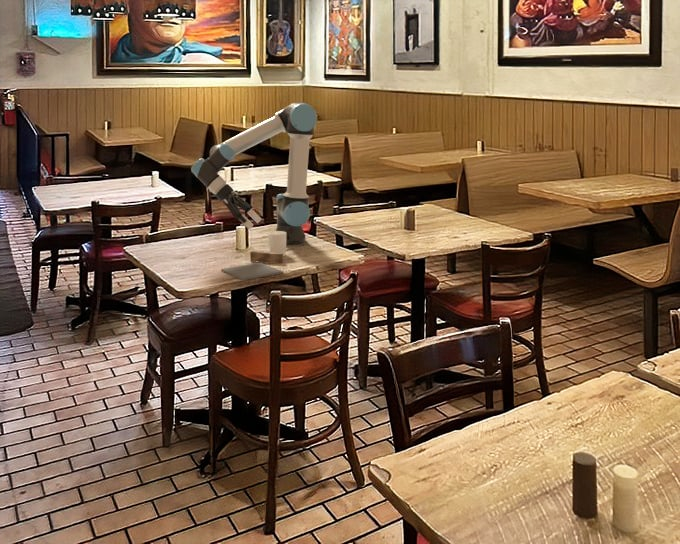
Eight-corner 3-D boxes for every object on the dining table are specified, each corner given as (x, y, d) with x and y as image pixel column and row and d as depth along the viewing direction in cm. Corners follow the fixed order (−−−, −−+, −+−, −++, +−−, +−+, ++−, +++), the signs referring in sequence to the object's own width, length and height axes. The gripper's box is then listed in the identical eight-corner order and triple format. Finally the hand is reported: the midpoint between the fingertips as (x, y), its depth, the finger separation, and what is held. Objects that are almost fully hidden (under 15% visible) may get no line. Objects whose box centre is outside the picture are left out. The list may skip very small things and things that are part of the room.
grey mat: (259, 264, 314) (259, 262, 314) (283, 273, 300) (282, 271, 300) (221, 270, 304) (221, 269, 303) (243, 280, 290) (243, 278, 289)
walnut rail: (250, 261, 319) (250, 252, 318) (252, 260, 321) (252, 251, 320) (281, 263, 315) (281, 254, 314) (283, 262, 317) (282, 253, 316)
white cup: (266, 254, 332) (266, 231, 330) (283, 252, 335) (283, 230, 333) (272, 257, 325) (271, 235, 323) (289, 256, 328) (288, 233, 326)
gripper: (223, 190, 339) (257, 224, 341) (206, 199, 316) (241, 235, 317) (234, 179, 337) (268, 213, 339) (217, 187, 313) (253, 223, 315)
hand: (255, 224), depth 328 cm, fingers open, 13 cm apart
